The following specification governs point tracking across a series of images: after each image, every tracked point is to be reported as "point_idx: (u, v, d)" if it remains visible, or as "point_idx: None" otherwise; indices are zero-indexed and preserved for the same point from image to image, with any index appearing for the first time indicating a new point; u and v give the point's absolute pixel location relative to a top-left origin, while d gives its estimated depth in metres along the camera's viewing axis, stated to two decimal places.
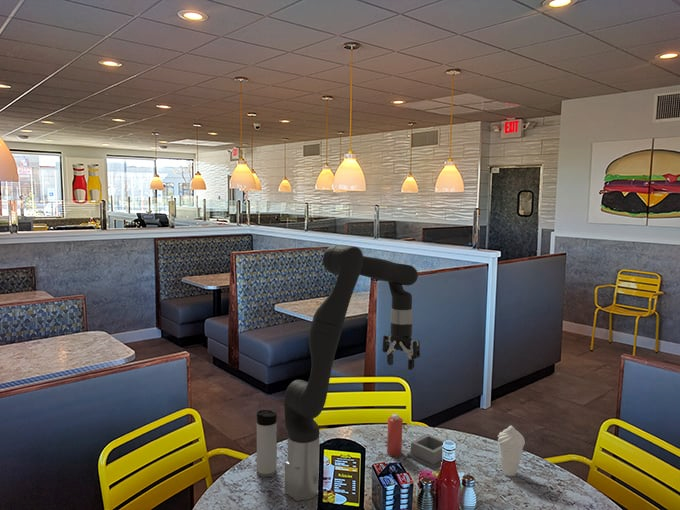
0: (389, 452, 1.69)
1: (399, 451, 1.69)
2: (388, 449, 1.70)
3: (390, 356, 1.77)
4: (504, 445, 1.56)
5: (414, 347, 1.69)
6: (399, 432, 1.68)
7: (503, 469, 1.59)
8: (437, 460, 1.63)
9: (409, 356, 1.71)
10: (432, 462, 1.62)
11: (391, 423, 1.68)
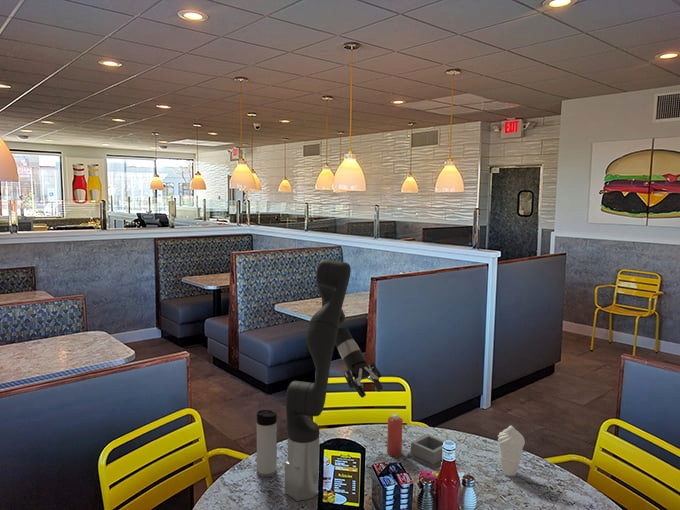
0: (389, 452, 1.69)
1: (399, 451, 1.69)
2: (388, 449, 1.70)
3: None
4: (504, 445, 1.56)
5: (375, 367, 1.85)
6: (399, 432, 1.68)
7: (503, 469, 1.59)
8: (437, 460, 1.63)
9: (376, 377, 1.82)
10: (432, 462, 1.62)
11: (391, 423, 1.68)
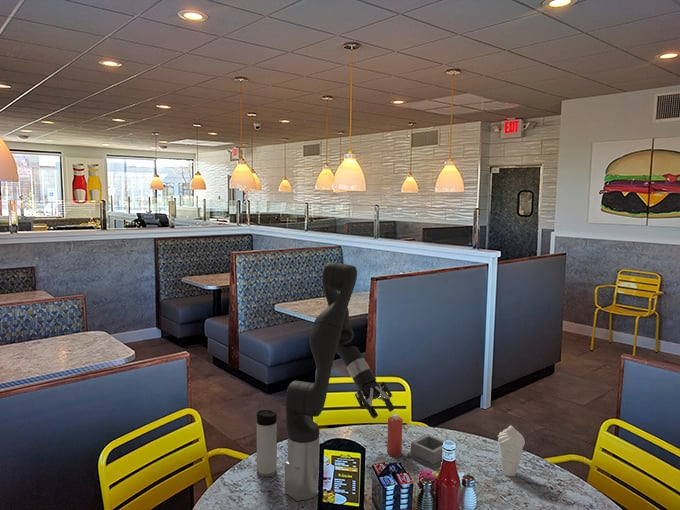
0: (389, 452, 1.69)
1: (399, 451, 1.69)
2: (388, 449, 1.70)
3: None
4: (504, 445, 1.56)
5: (386, 387, 1.81)
6: (399, 432, 1.68)
7: (503, 469, 1.59)
8: (437, 460, 1.63)
9: (387, 396, 1.78)
10: (432, 462, 1.62)
11: (391, 423, 1.68)
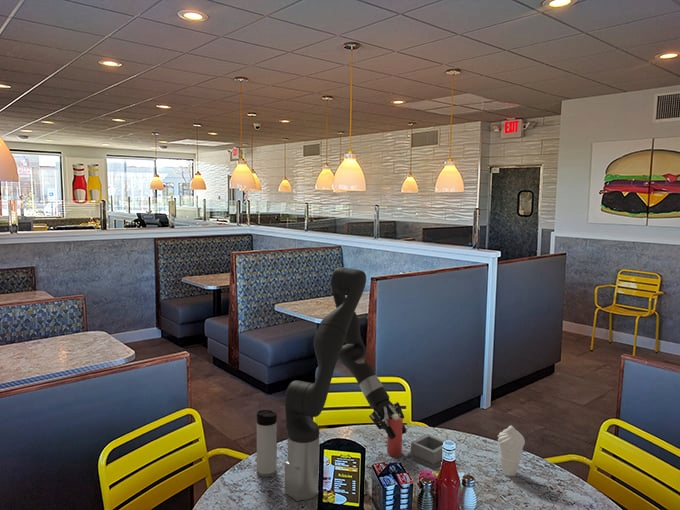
0: (389, 452, 1.69)
1: (399, 451, 1.69)
2: (388, 449, 1.70)
3: None
4: (504, 445, 1.56)
5: (399, 407, 1.76)
6: (399, 432, 1.68)
7: (503, 469, 1.59)
8: (437, 460, 1.63)
9: None
10: (432, 462, 1.62)
11: (391, 423, 1.68)
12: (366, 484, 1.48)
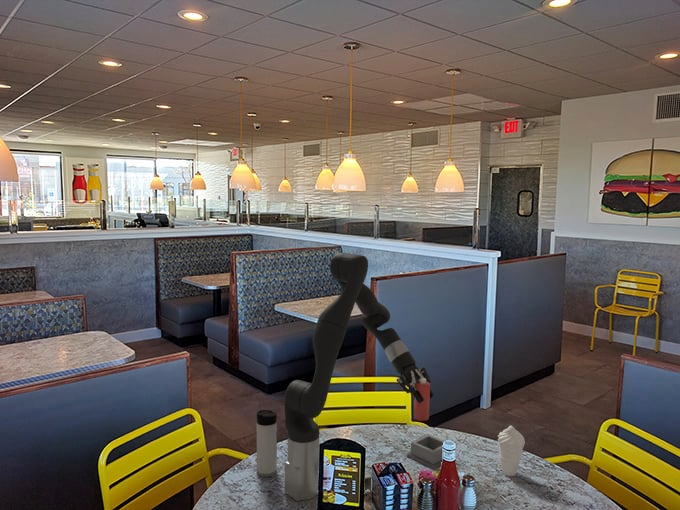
0: (416, 416, 1.67)
1: (427, 415, 1.67)
2: (415, 413, 1.67)
3: None
4: (504, 445, 1.56)
5: (426, 372, 1.74)
6: (427, 396, 1.66)
7: (503, 469, 1.59)
8: (437, 460, 1.63)
9: None
10: (432, 462, 1.62)
11: (419, 387, 1.66)
12: None
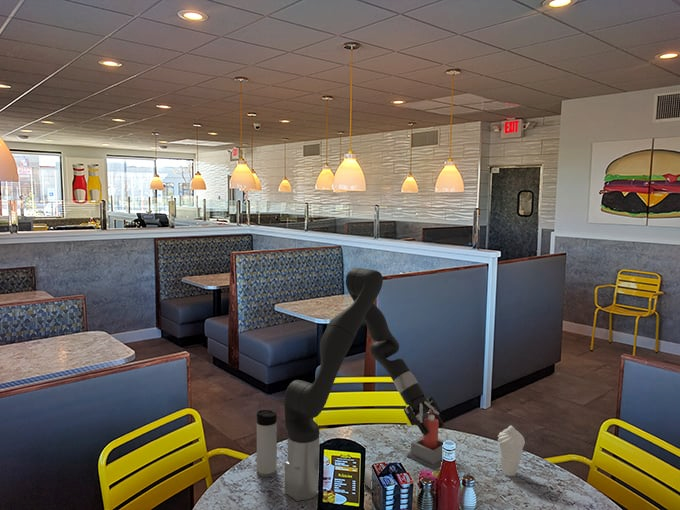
0: None
1: None
2: None
3: None
4: (504, 445, 1.56)
5: (434, 401, 1.74)
6: (435, 433, 1.66)
7: (503, 469, 1.59)
8: (437, 460, 1.63)
9: (436, 412, 1.71)
10: (432, 462, 1.62)
11: (427, 424, 1.66)
12: None
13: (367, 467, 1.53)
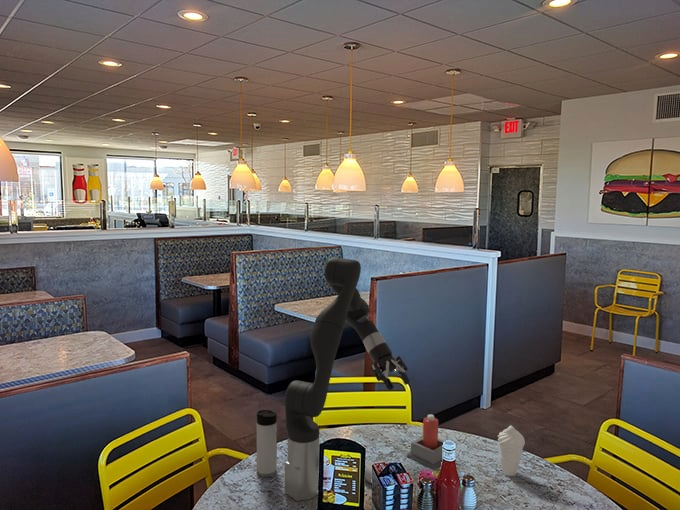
0: None
1: None
2: None
3: None
4: (504, 445, 1.56)
5: (401, 361, 1.83)
6: (435, 433, 1.66)
7: (503, 469, 1.59)
8: (437, 460, 1.63)
9: (403, 370, 1.80)
10: (432, 462, 1.62)
11: (427, 424, 1.66)
12: None
13: (371, 465, 1.54)
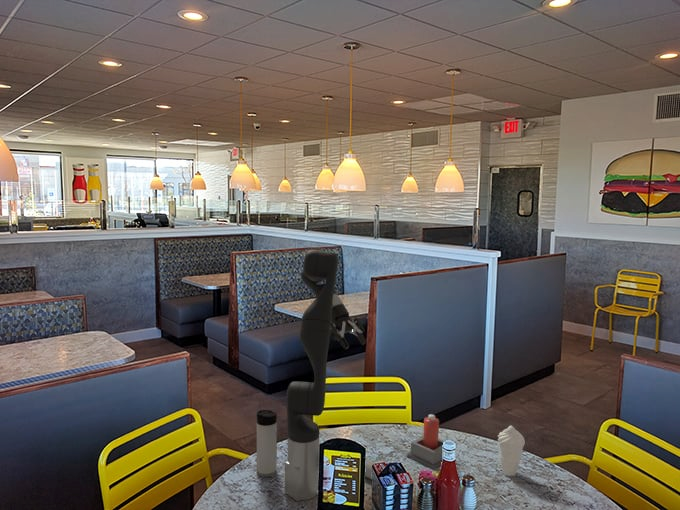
0: None
1: None
2: None
3: None
4: (504, 445, 1.56)
5: (359, 322, 1.85)
6: (436, 433, 1.66)
7: (503, 469, 1.59)
8: (437, 460, 1.63)
9: (359, 330, 1.82)
10: (432, 462, 1.62)
11: (428, 423, 1.66)
12: None
13: None
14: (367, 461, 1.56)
